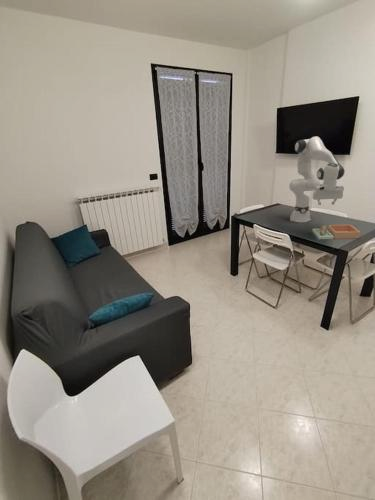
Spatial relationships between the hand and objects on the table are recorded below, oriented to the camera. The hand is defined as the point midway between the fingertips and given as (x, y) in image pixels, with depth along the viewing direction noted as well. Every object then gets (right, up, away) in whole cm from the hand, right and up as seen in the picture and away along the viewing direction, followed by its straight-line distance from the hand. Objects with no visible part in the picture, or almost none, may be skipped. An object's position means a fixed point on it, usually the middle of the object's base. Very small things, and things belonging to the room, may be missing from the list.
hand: (326, 204), depth 187 cm
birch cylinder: (+2, -23, +8) cm, 24 cm away
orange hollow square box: (+16, -24, +6) cm, 29 cm away
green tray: (+2, -24, +9) cm, 25 cm away
